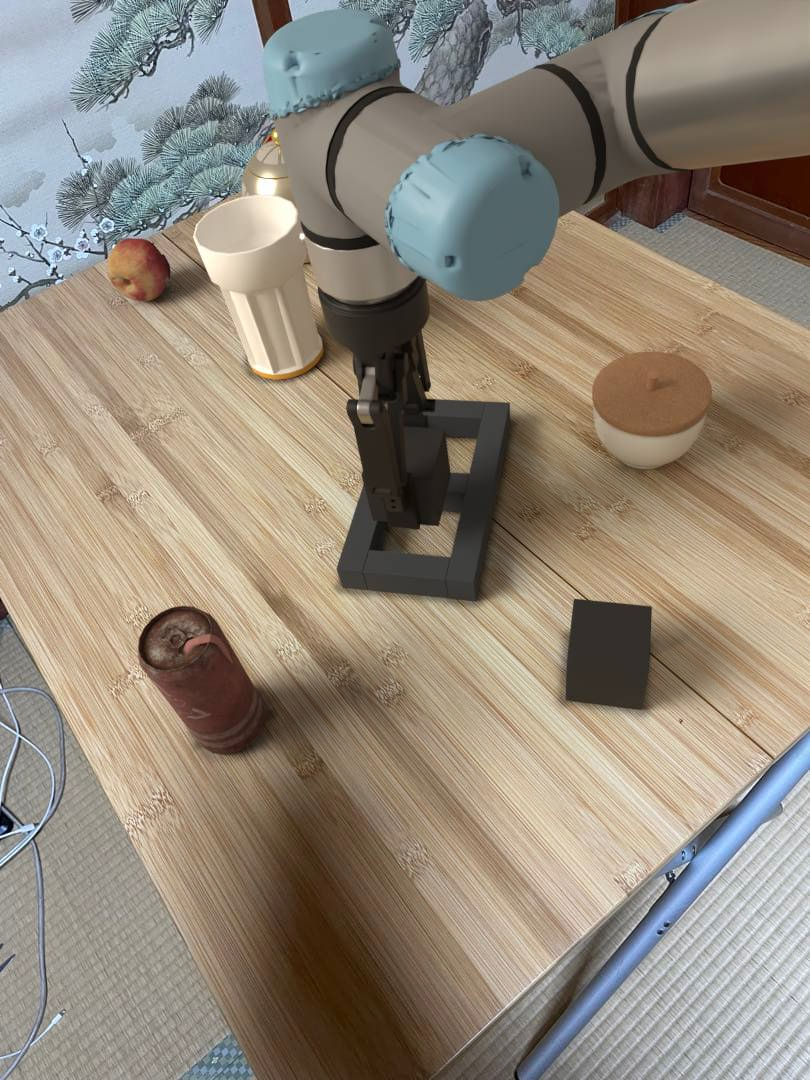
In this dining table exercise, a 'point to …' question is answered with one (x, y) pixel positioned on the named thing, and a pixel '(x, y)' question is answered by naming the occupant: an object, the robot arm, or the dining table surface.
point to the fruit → (138, 269)
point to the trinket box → (650, 407)
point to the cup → (263, 281)
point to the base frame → (464, 494)
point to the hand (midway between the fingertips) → (412, 495)
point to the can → (202, 679)
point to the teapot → (268, 174)
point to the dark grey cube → (422, 474)
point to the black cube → (608, 653)
